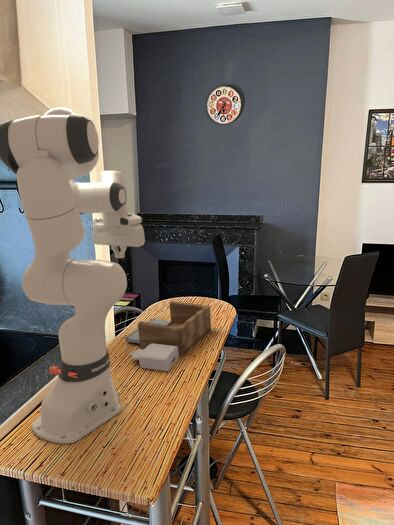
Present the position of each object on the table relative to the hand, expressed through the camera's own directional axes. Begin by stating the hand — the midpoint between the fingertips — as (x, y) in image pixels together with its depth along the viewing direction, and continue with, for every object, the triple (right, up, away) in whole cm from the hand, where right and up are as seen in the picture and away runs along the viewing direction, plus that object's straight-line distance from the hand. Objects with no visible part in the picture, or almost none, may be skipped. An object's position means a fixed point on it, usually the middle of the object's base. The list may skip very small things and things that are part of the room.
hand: (120, 257), depth 141 cm
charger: (+13, -33, -15) cm, 39 cm away
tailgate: (+13, -27, +3) cm, 30 cm away
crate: (+20, -29, 0) cm, 35 cm away
